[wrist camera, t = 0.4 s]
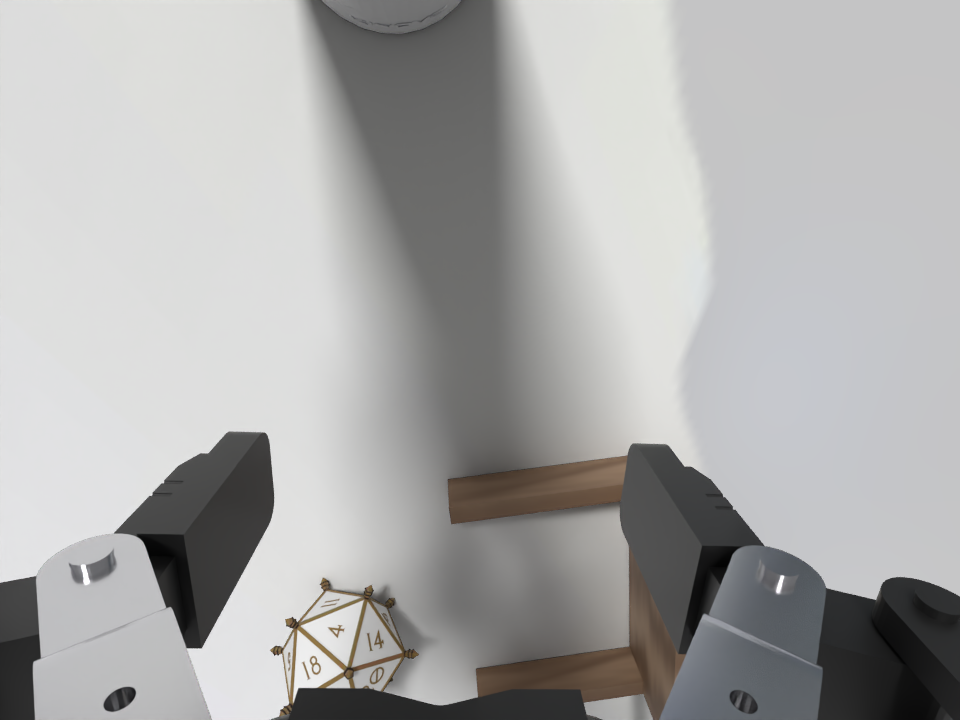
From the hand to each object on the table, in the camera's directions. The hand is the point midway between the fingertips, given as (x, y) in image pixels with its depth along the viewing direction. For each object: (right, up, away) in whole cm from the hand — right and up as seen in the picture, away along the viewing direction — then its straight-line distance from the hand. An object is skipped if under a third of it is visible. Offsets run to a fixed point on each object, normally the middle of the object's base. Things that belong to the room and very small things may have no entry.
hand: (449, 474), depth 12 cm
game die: (-8, -15, +26) cm, 31 cm away
